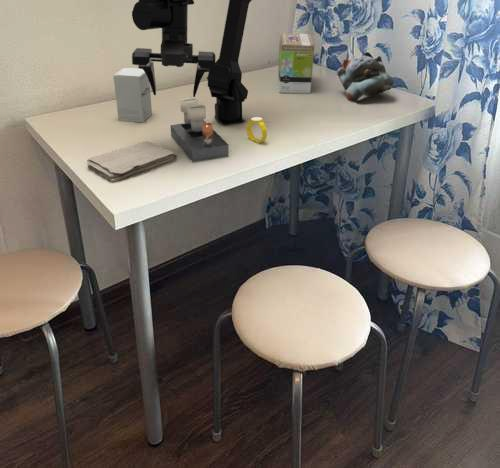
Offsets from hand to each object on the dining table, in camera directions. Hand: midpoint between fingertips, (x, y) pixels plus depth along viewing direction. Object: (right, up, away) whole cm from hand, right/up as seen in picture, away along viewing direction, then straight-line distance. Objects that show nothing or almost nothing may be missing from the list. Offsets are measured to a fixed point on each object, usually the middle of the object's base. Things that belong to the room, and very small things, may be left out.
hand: (174, 95), depth 137 cm
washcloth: (-9, -17, -3) cm, 20 cm away
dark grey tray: (+5, -11, +6) cm, 14 cm away
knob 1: (+3, -5, +8) cm, 10 cm away
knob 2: (+5, -7, +4) cm, 10 cm away
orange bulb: (+8, -12, -1) cm, 14 cm away
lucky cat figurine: (+52, +9, +38) cm, 65 cm away
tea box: (+32, +14, +47) cm, 58 cm away
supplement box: (-14, -1, +23) cm, 26 cm away
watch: (+20, -9, +9) cm, 23 cm away
